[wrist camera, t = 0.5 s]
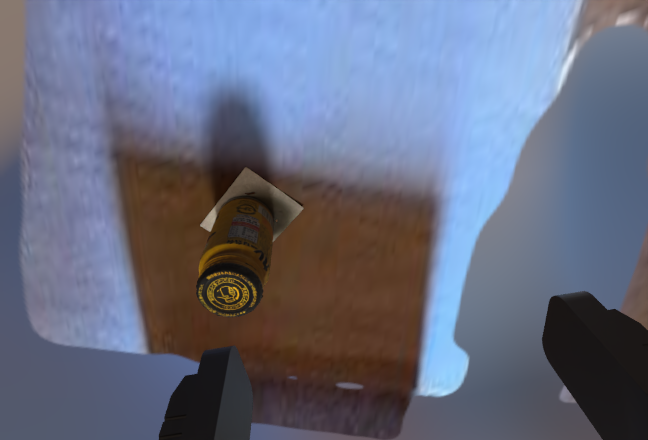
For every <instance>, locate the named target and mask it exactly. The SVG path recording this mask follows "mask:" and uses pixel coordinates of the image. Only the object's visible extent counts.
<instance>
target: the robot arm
mask: <svg viewBox="0 0 648 440" xmlns="http://www.w3.org/2000/svg"><path fill="white" fill-rule="evenodd" d="M542 343H543V348H544V352H545V355H546V357H547V359H548V361H549V363H550V364H551V366H552V367H553V369H554V370H555V371H556V373H557V374H558V376H559V377H560V379H561V380H562V382H563V383H564V385H565V386H566V387H567V389H568V390H569V392H570V393H571V395H572V396H573V398H574V399H575V400H576V402H577V403H578V405H579V406H580V408H581V409H582V410H583V412H584V413H585V415H586V416H587V418H588V419H589V421H590V422H591V423H592V425H593V426H594V428H595V429H596V431H597V432H598V433H599V435H600V436H601V438H602V439H603V440H648V330H647V329H646V328H645V327H644V326H642V325H641V324H640V323H639V322H637V321H635V320H633V319H632V318H630V317H628V316H626V315H625V314H623V313H621V312H619V311H618V310H616V309H612V310H607V309H606V308H605V307H604V306H603V305H602V304H601V303H600V302H599V301H598V300H597V299H596V298H595V297H594V296H593V295H592V294H590V293H588V292H585V291H582V292H575V293H570V294H563V295H557V296H553V297H551V299H550V301H549V305H548V311H547V316H546V322H545V326H544V332H543V337H542ZM252 410H253V395H252V388H251V384H250V381H249V378H248V376H247V373H246V370H245V368H244V365H243V363H242V360H241V357H240V355H239V352H238V350H237V348H236V347H235V346H230V347H224V348H217V349H211V350H205V351H204V353H203V354H202V357H201V361H200V365H199V369H198V373H197V374H194V375H187V376H185V377H184V378H183V380H182V381H181V383H180V384H179V385H178V387H177V388H176V390H175V391H174V392H173V394H172V396H171V398H170V401H169V404H168V408H167V411H166V414H165V421H164V422H163V424H162V427H161V430H160V433H159V440H249V439H250V430H251V420H252Z"/></svg>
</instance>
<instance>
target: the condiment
mask: <svg viewBox="0 0 648 440" xmlns="http://www.w3.org/2000/svg"><path fill="white" fill-rule="evenodd" d="M251 192H255V194H251V195H247V194H245V193H251ZM303 209H304V208H303V207H302V206H300V205H299V204H298V203H297V202H295V201H294V200H292V199H291V198H290V197H288V196H287V195H285V194H284V193H283V192H281V191H280V190H279V189H277V188H276V187H274V186H273V185H272V184H270V183H269V182H267V181H265V180H264V179H263V178H261V177H260V176H259V175H257V174H255V173H254V172H252V171H251V170H250V169H248V168H247V167H245V168H244V170H243V171H242V172H241V174H240V175H239V176H238V177H237V179H236V180H235V181H234V183H233V184H232V185H231V186H230V188H229V189H228V190H227V191H226V193H225V194H224V195H223V196H222V198H221V199H220V200H219V202H218V203H217V204H216V205H215V207H214V208H213V209H212V211H211V212H210V213H209V214H208V216H207V217H206V218H205V219H204V221H203V222H202V223H201V225H200V226H201V227H203V228H204V229H206V230H208V231H210V236H209V238H208V241H207V244H206V247H205V249H204V251H203V254H202V257H201V259H200V264H199V273H200V274H199V279H198V281H197V285H196V287H197V292H196V294H197V297H198V300H199V301H200V303H201V304H202V305H203V306H204V307H205V308H206V309H207V310H209V311H211V312H212V313H214V314H216V315H218V316H224V317H236V316H238V317H239V316H242V315H245V314H247V313H249V312H251V311H253V310H254V309H255V307H256V306H257V305H258V304H259V303H260V300H261V298H262V297H263V295H262V294H263V287H264V286H265V284H266V283H267V281H268V278H269V273H270V264H271V254H272V244H273V241H274V240H275V239H276V238H277V237H278V236H279V235H280V234H281V233H282V232H283V231H284V230H285V228H286V227H287V226H288V225H289V224H290V223H291V222H292V221H293V219H294V218H295V217H296V216H297V215H298V214H299V213H300V212H301V211H302V210H303ZM276 219H277V220H278V221H277V222H276V221H275V220H276Z"/></svg>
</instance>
